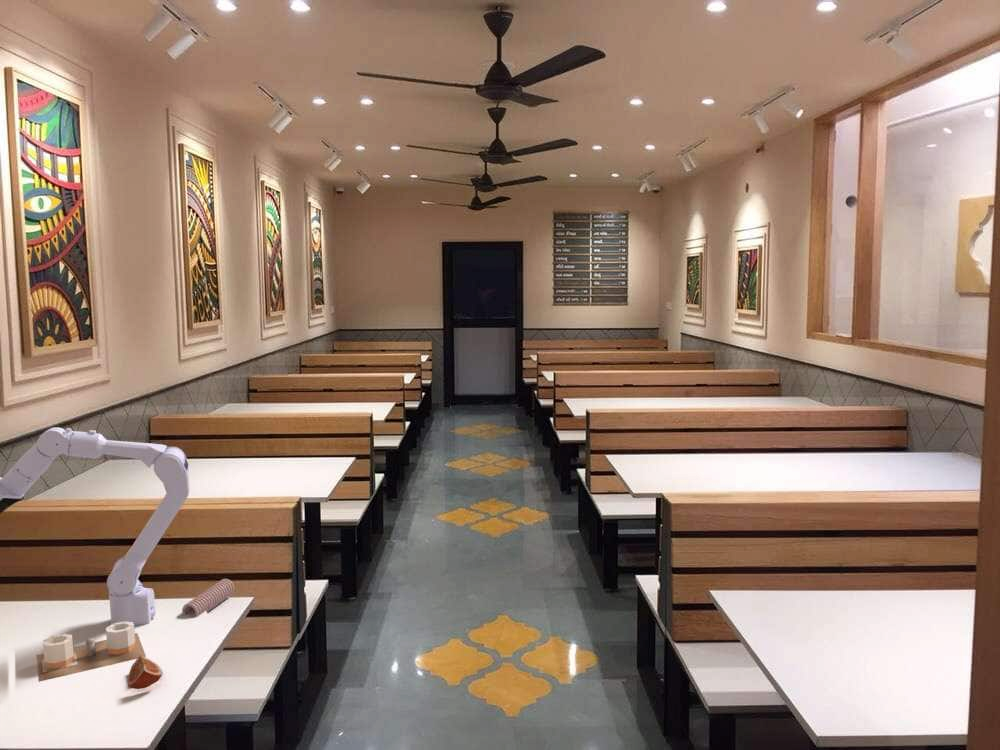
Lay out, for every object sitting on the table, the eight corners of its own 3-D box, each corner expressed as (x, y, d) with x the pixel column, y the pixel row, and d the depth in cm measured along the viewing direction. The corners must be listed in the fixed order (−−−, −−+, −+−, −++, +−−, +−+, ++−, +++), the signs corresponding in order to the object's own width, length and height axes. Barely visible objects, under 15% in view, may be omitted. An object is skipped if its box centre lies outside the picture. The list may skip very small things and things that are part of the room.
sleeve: (44, 660, 173) (42, 638, 172) (73, 654, 176) (71, 632, 175) (45, 670, 168) (43, 647, 168) (74, 664, 171) (73, 641, 170)
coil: (197, 606, 194) (236, 579, 212) (179, 603, 195) (220, 576, 212) (196, 624, 195) (236, 596, 212) (179, 621, 196) (219, 593, 213)
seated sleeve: (106, 647, 179) (105, 625, 178) (133, 641, 182) (132, 619, 181) (109, 656, 174) (107, 634, 174) (136, 650, 177) (135, 628, 177)
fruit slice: (126, 680, 167) (124, 657, 166) (161, 672, 170) (159, 649, 169) (128, 698, 160) (126, 674, 159) (165, 690, 163) (163, 666, 162)
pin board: (137, 639, 186) (136, 616, 186) (146, 663, 174) (144, 639, 174) (37, 661, 176) (35, 637, 176) (39, 688, 164) (37, 663, 164)
